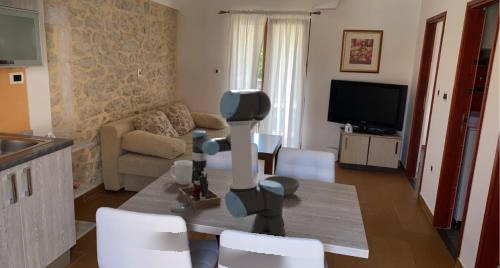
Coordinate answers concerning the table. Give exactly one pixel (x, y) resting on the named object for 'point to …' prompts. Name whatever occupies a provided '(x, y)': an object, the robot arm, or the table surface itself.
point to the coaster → (180, 207)
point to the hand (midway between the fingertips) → (199, 199)
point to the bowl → (285, 183)
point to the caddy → (199, 204)
